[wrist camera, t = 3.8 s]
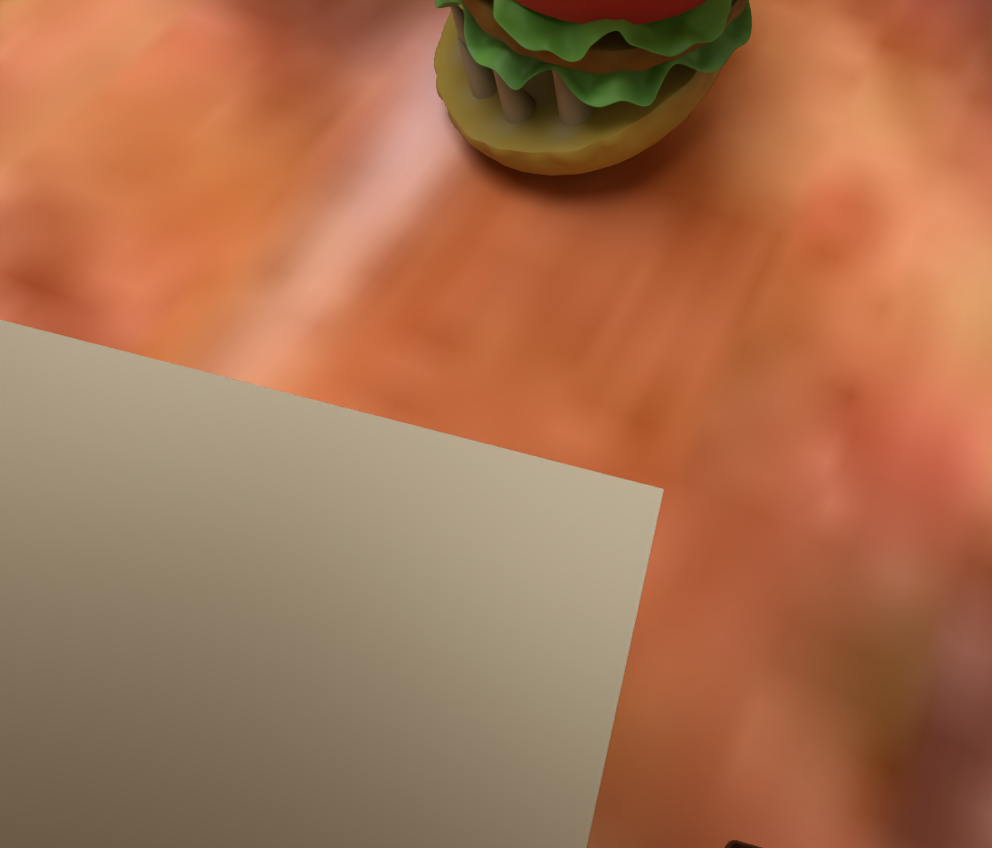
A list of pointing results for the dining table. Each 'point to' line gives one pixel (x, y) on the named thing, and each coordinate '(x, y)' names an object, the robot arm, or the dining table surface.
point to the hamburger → (580, 75)
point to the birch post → (294, 618)
